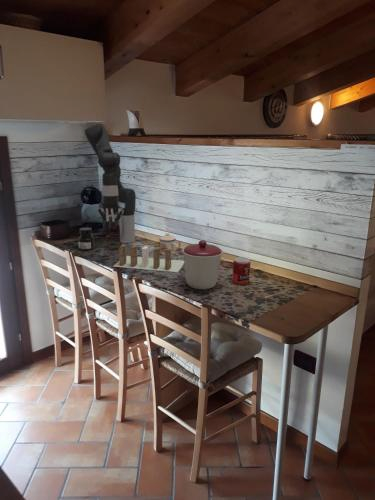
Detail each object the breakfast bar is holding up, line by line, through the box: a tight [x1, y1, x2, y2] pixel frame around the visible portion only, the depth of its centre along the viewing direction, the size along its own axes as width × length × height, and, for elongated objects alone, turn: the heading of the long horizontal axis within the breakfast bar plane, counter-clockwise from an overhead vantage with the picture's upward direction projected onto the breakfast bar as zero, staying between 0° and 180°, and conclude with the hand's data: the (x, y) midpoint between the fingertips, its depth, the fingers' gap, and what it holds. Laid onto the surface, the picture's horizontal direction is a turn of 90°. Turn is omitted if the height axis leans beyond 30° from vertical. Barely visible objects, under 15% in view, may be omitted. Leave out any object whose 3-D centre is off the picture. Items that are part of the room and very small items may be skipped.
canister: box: [181, 239, 224, 290], centre depth 172 cm, size 18×18×21 cm
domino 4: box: [152, 246, 161, 269], centre depth 195 cm, size 5×2×10 cm, turn 168°
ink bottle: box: [77, 227, 95, 252], centre depth 225 cm, size 10×9×12 cm
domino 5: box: [164, 248, 172, 270], centre depth 194 cm, size 5×2×10 cm, turn 168°
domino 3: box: [141, 245, 150, 268], centre depth 196 cm, size 5×2×10 cm, turn 168°
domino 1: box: [118, 243, 127, 266], centre depth 198 cm, size 5×2×10 cm, turn 168°
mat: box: [113, 255, 184, 273], centre depth 202 cm, size 18×34×1 cm, turn 78°
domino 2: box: [129, 244, 138, 267], centre depth 197 cm, size 5×2×10 cm, turn 168°
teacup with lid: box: [159, 233, 178, 256], centre depth 219 cm, size 12×9×12 cm
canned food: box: [232, 256, 251, 286], centre depth 179 cm, size 8×8×11 cm
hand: (111, 228), depth 195 cm, fingers closed
